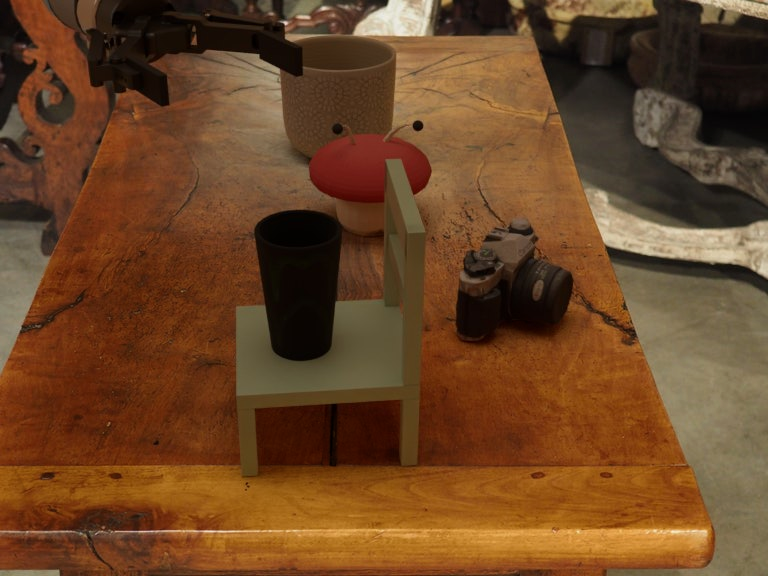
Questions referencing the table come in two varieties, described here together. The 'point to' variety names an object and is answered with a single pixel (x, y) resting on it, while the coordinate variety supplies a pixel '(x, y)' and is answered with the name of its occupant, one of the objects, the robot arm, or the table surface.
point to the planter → (338, 90)
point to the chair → (348, 340)
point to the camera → (509, 283)
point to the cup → (299, 280)
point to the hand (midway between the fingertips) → (234, 76)
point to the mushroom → (365, 175)
